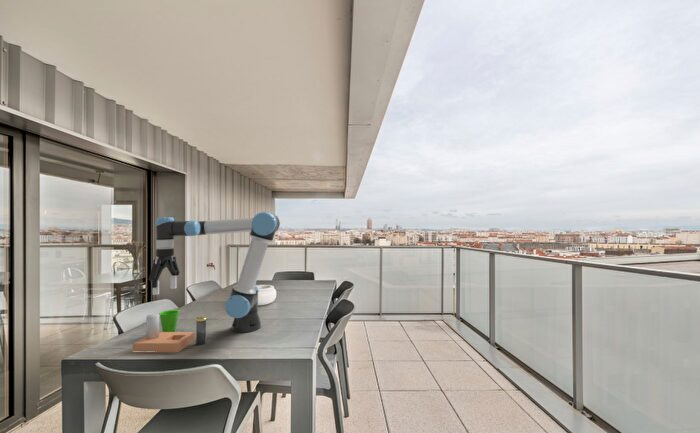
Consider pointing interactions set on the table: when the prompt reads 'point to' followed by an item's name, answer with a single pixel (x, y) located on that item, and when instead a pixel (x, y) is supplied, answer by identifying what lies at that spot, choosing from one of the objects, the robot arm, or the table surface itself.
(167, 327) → the cup
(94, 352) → the table surface
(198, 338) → the pin
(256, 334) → the table surface
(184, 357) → the table surface
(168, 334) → the peach square-hole plate
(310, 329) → the table surface
